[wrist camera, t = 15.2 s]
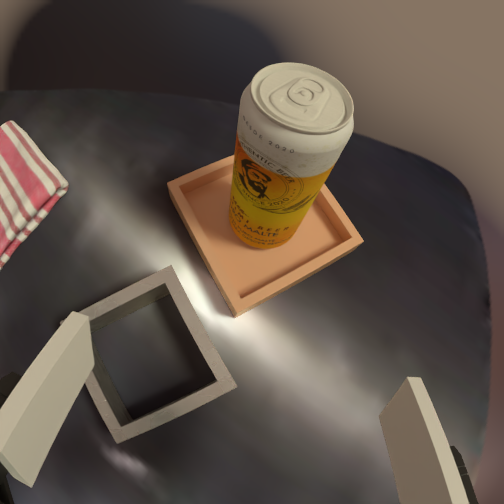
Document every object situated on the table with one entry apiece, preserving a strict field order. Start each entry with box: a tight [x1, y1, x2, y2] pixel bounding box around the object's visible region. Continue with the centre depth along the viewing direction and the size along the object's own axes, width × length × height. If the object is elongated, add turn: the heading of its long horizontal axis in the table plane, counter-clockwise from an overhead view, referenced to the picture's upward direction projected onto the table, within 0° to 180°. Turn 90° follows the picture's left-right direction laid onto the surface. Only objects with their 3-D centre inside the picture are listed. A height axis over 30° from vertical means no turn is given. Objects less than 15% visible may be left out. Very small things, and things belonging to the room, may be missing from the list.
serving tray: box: [167, 155, 363, 318], centre depth 28 cm, size 13×13×2 cm
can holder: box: [60, 265, 237, 444], centre depth 22 cm, size 10×10×4 cm
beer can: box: [229, 63, 354, 249], centre depth 21 cm, size 6×6×15 cm
